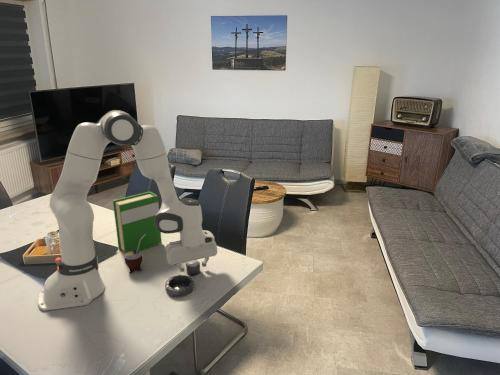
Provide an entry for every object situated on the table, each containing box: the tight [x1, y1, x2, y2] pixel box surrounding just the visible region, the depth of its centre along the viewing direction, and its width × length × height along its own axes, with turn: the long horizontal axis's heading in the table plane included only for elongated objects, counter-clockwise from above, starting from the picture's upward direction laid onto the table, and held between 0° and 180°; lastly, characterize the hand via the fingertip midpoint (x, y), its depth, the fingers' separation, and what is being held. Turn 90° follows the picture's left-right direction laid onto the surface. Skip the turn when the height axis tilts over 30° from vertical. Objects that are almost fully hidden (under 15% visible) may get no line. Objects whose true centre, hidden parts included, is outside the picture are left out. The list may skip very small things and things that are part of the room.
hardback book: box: [112, 190, 163, 255], centre depth 171 cm, size 18×7×24 cm, turn 131°
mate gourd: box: [124, 234, 146, 274], centre depth 154 cm, size 8×8×15 cm
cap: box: [185, 260, 201, 277], centre depth 154 cm, size 6×6×4 cm
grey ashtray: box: [164, 274, 195, 298], centre depth 144 cm, size 10×10×3 cm
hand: (193, 268), depth 154 cm, fingers open, 8 cm apart
